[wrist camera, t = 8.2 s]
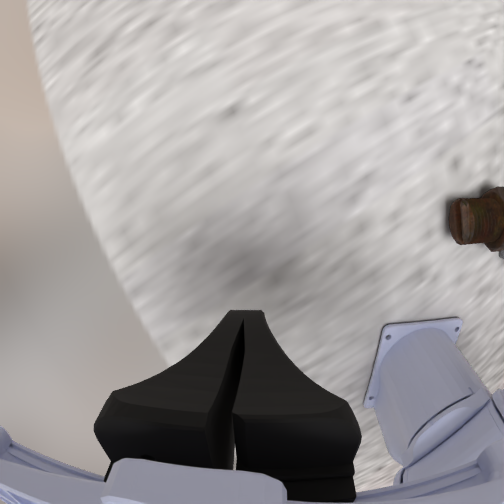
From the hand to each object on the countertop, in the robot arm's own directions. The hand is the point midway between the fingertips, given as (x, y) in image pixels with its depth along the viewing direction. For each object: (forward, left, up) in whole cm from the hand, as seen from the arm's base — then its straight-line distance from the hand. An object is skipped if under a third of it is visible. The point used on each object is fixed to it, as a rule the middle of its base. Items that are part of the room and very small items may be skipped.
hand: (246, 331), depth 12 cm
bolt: (+4, -21, -10) cm, 24 cm away
